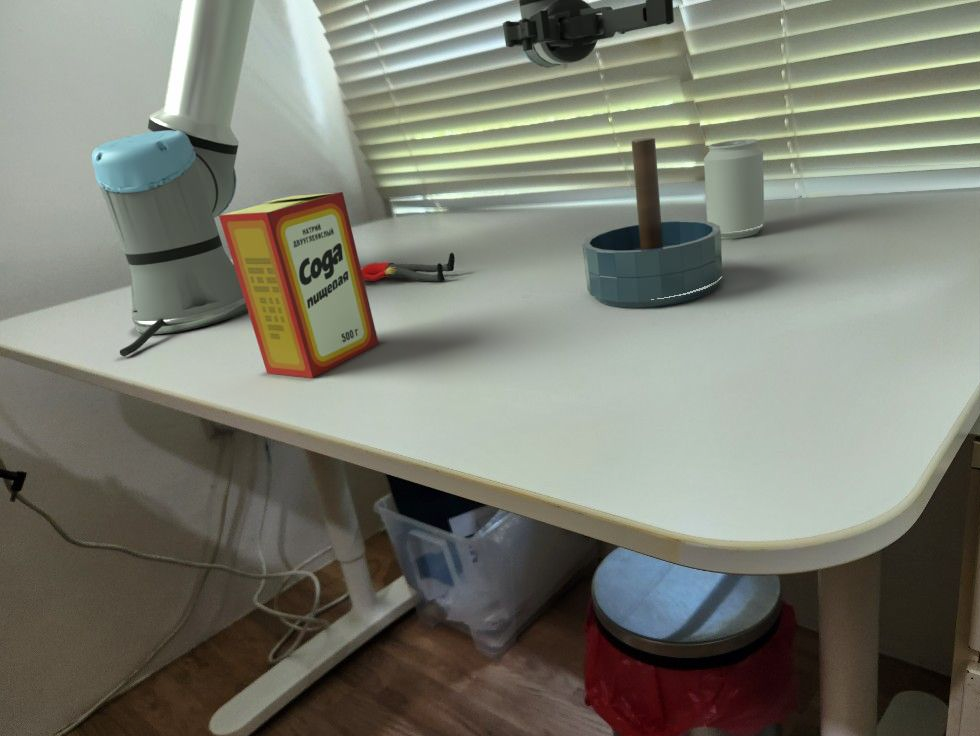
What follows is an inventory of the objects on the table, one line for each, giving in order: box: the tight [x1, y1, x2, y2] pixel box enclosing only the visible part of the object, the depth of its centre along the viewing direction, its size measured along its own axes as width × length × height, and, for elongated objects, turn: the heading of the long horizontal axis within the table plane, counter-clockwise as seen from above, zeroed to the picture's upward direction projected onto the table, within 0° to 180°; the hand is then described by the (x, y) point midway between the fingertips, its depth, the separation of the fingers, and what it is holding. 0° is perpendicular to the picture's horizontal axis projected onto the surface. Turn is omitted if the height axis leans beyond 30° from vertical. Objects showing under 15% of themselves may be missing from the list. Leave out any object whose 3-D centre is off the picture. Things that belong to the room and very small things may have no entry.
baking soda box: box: [218, 191, 380, 379], centre depth 73 cm, size 10×6×16 cm
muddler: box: [631, 137, 663, 250], centre depth 79 cm, size 5×5×15 cm
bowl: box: [581, 219, 724, 309], centre depth 82 cm, size 15×15×6 cm
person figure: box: [361, 252, 456, 282], centre depth 104 cm, size 5×4×18 cm
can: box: [703, 138, 765, 240], centre depth 100 cm, size 8×8×12 cm
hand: (607, 15), depth 80 cm, fingers open, 13 cm apart
